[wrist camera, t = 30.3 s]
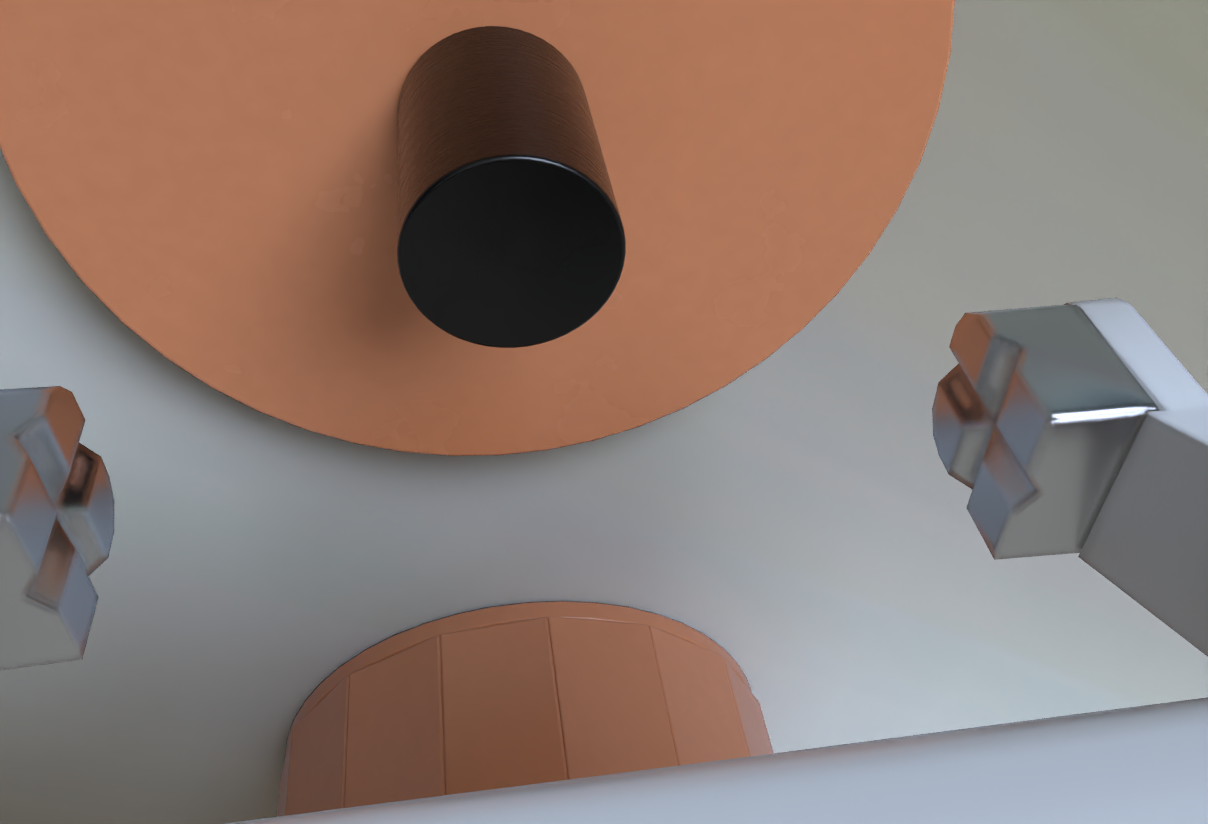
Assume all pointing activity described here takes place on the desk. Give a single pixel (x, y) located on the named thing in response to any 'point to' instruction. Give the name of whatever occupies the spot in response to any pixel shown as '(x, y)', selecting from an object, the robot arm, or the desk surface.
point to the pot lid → (467, 193)
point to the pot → (517, 706)
